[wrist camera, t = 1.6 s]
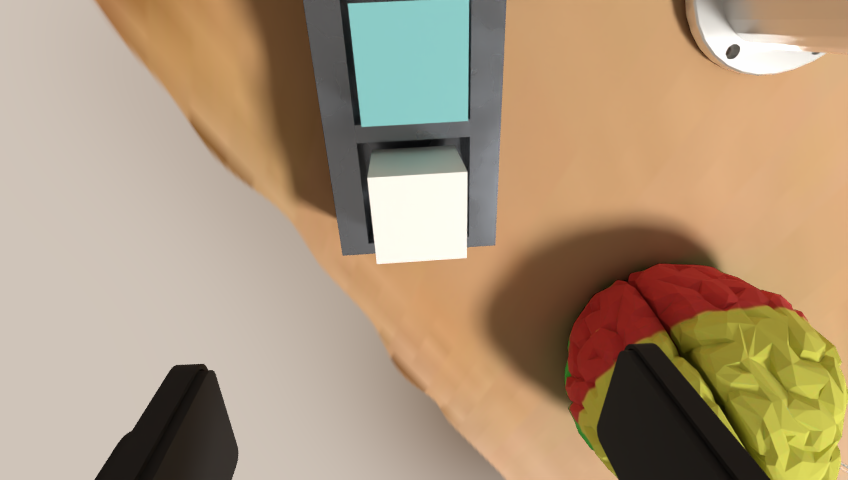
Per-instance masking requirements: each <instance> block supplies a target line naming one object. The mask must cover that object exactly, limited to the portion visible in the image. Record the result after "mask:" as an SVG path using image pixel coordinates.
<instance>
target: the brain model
mask: <svg viewBox="0 0 848 480" xmlns="http://www.w3.org/2000/svg"><path fill="white" fill-rule="evenodd" d="M640 343H654V344H656V345H657V346H659V347H660V348H661V350H662V351H663V352H664V353H665V354H666V356H667V357H668V358H669V359H670V360H671V362H672V363H673V364H674V365H675V366H676V367H677V369H678V370H679V371H680V372H681V373H682V375H683V376H684V377H685V378H686V379H687V381H688V382H689V383H690V384H691V385H692V387H693V388H694V389H695V390H696V391H697V392H698V394H699V395H700V396H701V397H702V398H703V400H704V401H705V402H706V403H707V404H708V406H709V407H710V408H711V409H712V410H713V411H714V413H715V414H716V415H717V416H718V417H719V419H720V420H721V421H722V422H723V423H724V425H725V426H726V427H727V428H728V429H729V431H730V432H731V433H732V434H733V435H734V436H735V438H736V439H737V440H738V441H739V442H740V444H741V445H742V446H743V447H744V448H745V450H746V451H747V452H748V453H749V454H750V456H751V457H752V458H753V459H754V460H755V461H756V463H757V464H758V465H759V466H760V467H761V469H762V470H763V471H764V472H765V473H766V475H767V476H768V477H769V478H770V479H771V480H836V479H837V476H838V472H839V469H840V465H841V457H840V450H839V448H838V446H837V444H838V442H839V440H840V439H841V437H842V431H843V422H844V415H845V411H846V407H847V403H848V389H847V386H846V382H845V378H844V375H843V373H842V371H841V369H840V367H839V366H840V364H841V359H840V357H839V354H838V352H837V350H836V347H835V346H834V345H833V344H832V343H830V342H829V341H828V340H827V339H826V338H824V337H823V336H822V335H821V334H820V333H818V332H817V331H816V330H815V329H814V328H813V327H812V326H811V325H810V324H809V322H808V321H807V319H806V317H805V316H804V314H803V313H802V312H801V311H798V310H793V308H792V305H791V304H790V303H789V302H788V301H787V300H786V299H785V298H783V297H782V296H781V295H779V294H775V293H771V292H767V291H764V290H759V289H758V288H756V287H754V286H752V285H750V284H749V283H747V282H745V281H743V280H741V279H740V278H738V277H735V276H732V275H728V274H725V273H723V272H721V271H719V270H717V269H716V268H714V267H709V266H702V265H683V264H656V265H654V266H652V267H650V268H648V269H646V270H644V271H640V272H635V273H631V274H630V275H629V279H628V282H626V281H621V280H617V281H615V282H614V283H613V284H612V285H611V286H609V287H608V288H607V289H605V290H603V291H601V292H598V293H596V294H595V295H594V296H593V297H592V298H591V300H590V301H589V302H588V304H587V305H586V307H585V308H584V310H583V311H582V312H581V314H580V315H579V317H578V318H577V320H576V321H575V323H574V325H573V328H572V331H571V333H570V336H569V341H568V353H569V356H568V360H567V364H566V367H565V388H566V394H567V395H568V397H569V399H570V400H571V401H573V403H572V404H571V405H570V406H569V408H568V409H569V411H570V413H571V415H572V417H573V419H574V421H575V424H576V427H577V429H578V432H579V434H580V435H581V436H582V438H583V439H584V440H585V442H586V443H587V444H588V446H589V447H590V448H591V449H592V450H594V451H595V454H596V455H597V456H598V457H599V458H600V460H601V461H602V462H603V463H604V464H605V466H606V467H607V468H608V469H609V470H610V471H611V472H612V473H613V474H614V475H615V476H616V477H617V475H616V473H615V471H614V469H613V468H612V466H611V464H610V462H609V460H608V458H607V456H606V454H605V452H604V450H603V448H602V446H601V444H600V442H599V439H598V436H597V424H598V420H599V417H600V414H601V410H602V407H603V404H604V401H605V397H606V394H607V391H608V387H609V384H610V381H611V377H612V374H613V371H614V367H615V364H616V361H617V358H618V354H619V352H620V351H624V349H625V347H626V346H627V345H628V344H640ZM679 356H680V357H679ZM617 478H618V477H617Z"/></svg>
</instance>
